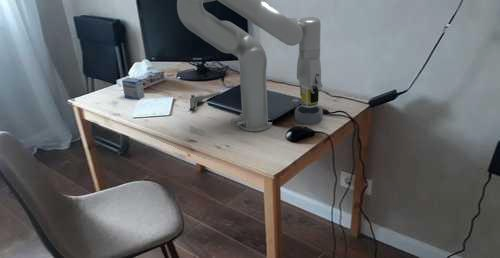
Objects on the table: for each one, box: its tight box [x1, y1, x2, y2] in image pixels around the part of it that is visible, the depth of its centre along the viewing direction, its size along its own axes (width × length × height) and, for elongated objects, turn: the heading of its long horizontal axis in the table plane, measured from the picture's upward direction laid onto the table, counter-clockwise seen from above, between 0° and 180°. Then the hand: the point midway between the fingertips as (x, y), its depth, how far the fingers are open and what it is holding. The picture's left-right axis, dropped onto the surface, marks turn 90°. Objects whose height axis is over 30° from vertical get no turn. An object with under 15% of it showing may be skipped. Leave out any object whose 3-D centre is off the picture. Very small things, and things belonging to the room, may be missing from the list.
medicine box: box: [121, 77, 145, 101], centre depth 190 cm, size 8×4×9 cm, turn 68°
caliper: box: [189, 91, 222, 110], centre depth 183 cm, size 20×1×6 cm, turn 145°
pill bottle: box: [300, 83, 319, 108], centre depth 158 cm, size 6×6×11 cm
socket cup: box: [294, 104, 324, 125], centre depth 162 cm, size 10×10×4 cm
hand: (309, 98), depth 159 cm, fingers closed on pill bottle, 6 cm apart
